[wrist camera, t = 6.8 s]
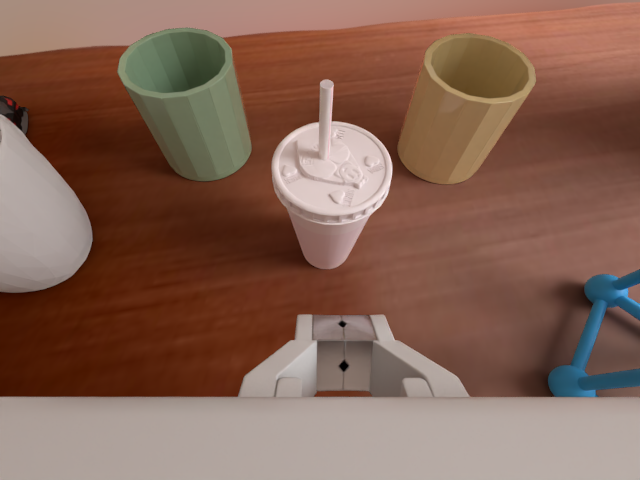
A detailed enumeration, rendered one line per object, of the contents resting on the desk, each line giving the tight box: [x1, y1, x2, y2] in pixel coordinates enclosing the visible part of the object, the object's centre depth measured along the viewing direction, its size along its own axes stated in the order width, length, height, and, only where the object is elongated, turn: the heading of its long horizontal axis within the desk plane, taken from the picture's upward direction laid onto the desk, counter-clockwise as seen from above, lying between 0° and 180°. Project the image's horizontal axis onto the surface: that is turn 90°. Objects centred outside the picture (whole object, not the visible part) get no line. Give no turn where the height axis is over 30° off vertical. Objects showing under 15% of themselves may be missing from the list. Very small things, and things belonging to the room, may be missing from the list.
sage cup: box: [117, 28, 252, 181], centre depth 26 cm, size 8×8×8 cm
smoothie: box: [272, 80, 392, 269], centre depth 19 cm, size 6×6×14 cm
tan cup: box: [397, 33, 536, 184], centre depth 27 cm, size 8×8×8 cm
